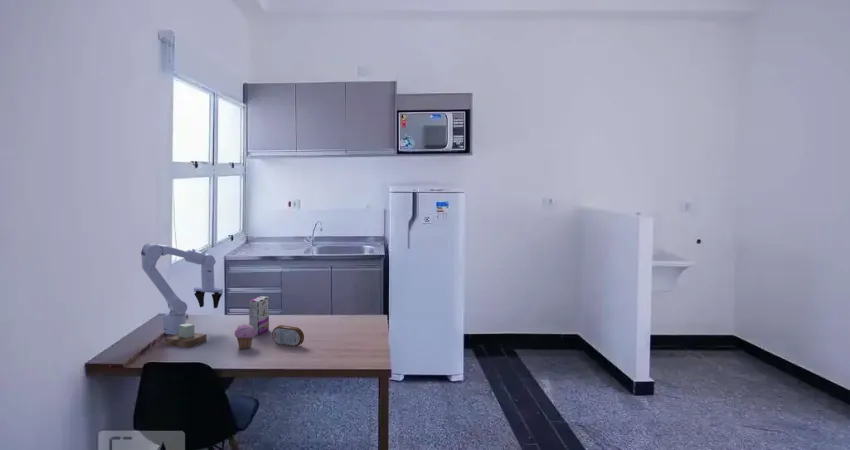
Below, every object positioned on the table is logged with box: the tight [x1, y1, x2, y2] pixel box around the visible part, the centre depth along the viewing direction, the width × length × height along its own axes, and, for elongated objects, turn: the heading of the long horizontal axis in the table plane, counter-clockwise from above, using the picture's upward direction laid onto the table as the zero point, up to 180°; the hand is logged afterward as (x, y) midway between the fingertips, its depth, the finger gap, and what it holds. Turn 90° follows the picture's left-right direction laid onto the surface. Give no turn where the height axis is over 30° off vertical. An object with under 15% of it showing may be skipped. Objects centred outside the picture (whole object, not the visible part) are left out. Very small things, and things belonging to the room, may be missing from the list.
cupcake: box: [234, 324, 256, 350], centre depth 264 cm, size 9×9×10 cm
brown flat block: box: [164, 332, 207, 349], centre depth 268 cm, size 12×12×3 cm
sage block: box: [179, 322, 195, 338], centre depth 268 cm, size 4×4×5 cm
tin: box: [271, 324, 305, 347], centre depth 270 cm, size 15×3×8 cm, turn 71°
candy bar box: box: [248, 295, 270, 337], centre depth 288 cm, size 11×5×16 cm, turn 168°
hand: (208, 307), depth 292 cm, fingers open, 7 cm apart
